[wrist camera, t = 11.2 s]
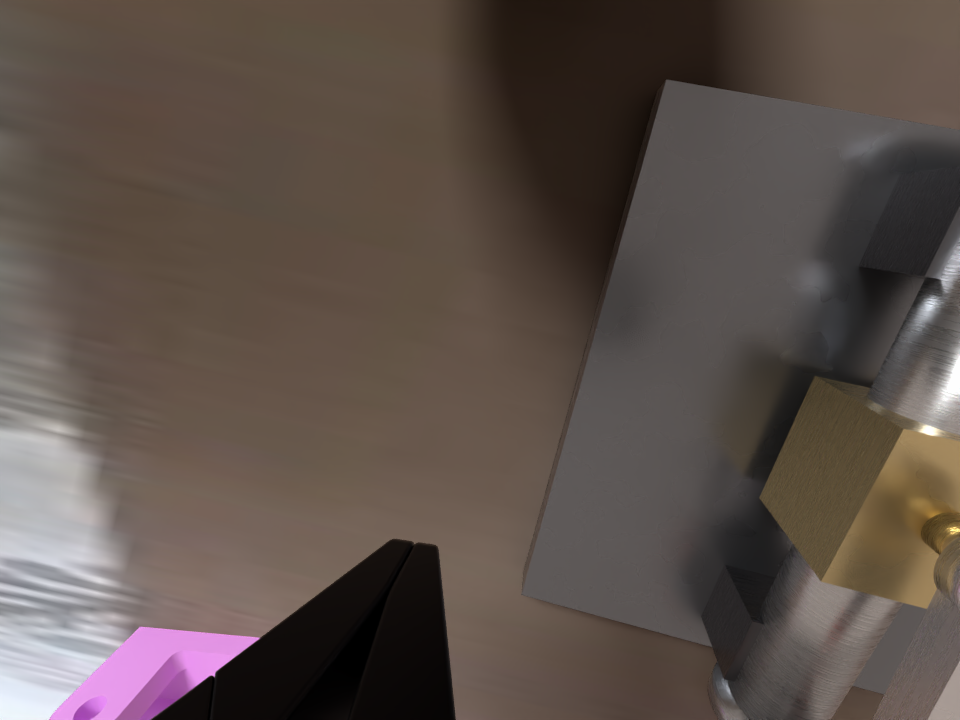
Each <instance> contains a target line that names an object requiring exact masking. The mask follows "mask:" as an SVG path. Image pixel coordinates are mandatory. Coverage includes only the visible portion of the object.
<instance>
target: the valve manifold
mask: <svg viewBox="0 0 960 720" xmlns="http://www.w3.org/2000/svg"><path fill="white" fill-rule="evenodd" d="M959 537H960V130H957V129H951V128H945V127H939V126H933V125H928V124H922V123H916V122H910V121H904V120H899V119H893V118H887V117H881V116H875V115H870V114H864V113H858V112H852V111H846V110H841V109H835V108H829V107H823V106H817V105H812V104H806V103H800V102H794V101H788V100H783V99H777V98H771V97H765V96H759V95H754V94H748V93H742V92H736V91H730V90H725V89H719V88H713V87H707V86H701V85H696V84H690V83H684V82H678V81H672V80H667V79H666V80H665V82H664V83H663V84H662V85H661V87H660V88H659V89H658V90H657V92H656V96H655V99H654V103H653V106H652V110H651V114H650V117H649V121H648V124H647V128H646V132H645V135H644V139H643V142H642V146H641V150H640V153H639V157H638V161H637V164H636V168H635V171H634V175H633V179H632V182H631V186H630V189H629V193H628V197H627V200H626V204H625V207H624V211H623V215H622V218H621V222H620V225H619V229H618V233H617V236H616V240H615V243H614V247H613V251H612V254H611V258H610V261H609V265H608V269H607V272H606V276H605V279H604V283H603V287H602V290H601V294H600V298H599V301H598V305H597V308H596V312H595V316H594V319H593V323H592V326H591V330H590V334H589V337H588V341H587V344H586V348H585V352H584V355H583V359H582V362H581V366H580V370H579V373H578V377H577V380H576V384H575V388H574V391H573V395H572V398H571V402H570V406H569V409H568V413H567V416H566V420H565V424H564V427H563V431H562V435H561V438H560V442H559V445H558V449H557V453H556V456H555V460H554V463H553V467H552V471H551V474H550V478H549V481H548V485H547V489H546V492H545V496H544V499H543V503H542V507H541V510H540V514H539V517H538V521H537V525H536V528H535V532H534V535H533V539H532V543H531V546H530V550H529V553H528V557H527V561H526V564H525V568H524V572H523V582H522V594H521V595H524V596H528V597H531V598H535V599H539V600H542V601H546V602H550V603H553V604H557V605H561V606H564V607H568V608H571V609H575V610H579V611H582V612H586V613H590V614H593V615H597V616H601V617H604V618H608V619H611V620H615V621H619V622H622V623H626V624H630V625H633V626H637V627H641V628H644V629H648V630H651V631H655V632H659V633H662V634H666V635H670V636H673V637H677V638H681V639H684V640H688V641H691V642H695V643H699V644H702V645H706V646H710V647H712V648H713V650H714V653H715V656H716V658H717V663H716V665H715V667H714V669H713V671H712V673H711V675H710V678H709V681H708V695H709V699H710V702H711V705H712V708H713V710H714V712H715V714H716V716H717V717H718V719H719V720H831V719H832V717H833V716H834V714H835V712H836V711H837V709H838V708H839V706H840V704H841V703H842V701H843V700H844V698H845V696H846V695H847V693H848V692H849V690H850V688H851V687H852V686H855V687H859V688H862V689H866V690H870V691H873V692H877V693H881V694H885V692H886V690H887V688H888V686H889V684H890V682H891V680H892V678H893V676H894V674H895V672H896V670H897V668H898V666H899V664H900V662H901V660H902V658H903V656H904V654H905V652H906V650H907V648H908V646H909V644H910V642H911V640H912V638H913V636H914V634H915V632H916V630H917V628H918V626H919V624H920V622H921V620H922V618H923V616H924V614H925V612H926V610H927V608H928V606H929V604H930V602H931V600H932V598H933V596H934V594H935V592H936V590H937V588H936V585H935V583H934V577H933V574H934V567H935V564H936V561H937V559H938V557H939V556H940V554H941V553H942V551H943V550H944V549H945V548H946V547H947V546H948V545H949V544H950V543H952V542H953V541H954V540H956V539H957V538H959Z"/></svg>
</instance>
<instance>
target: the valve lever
mask: <svg viewBox="0 0 960 720" xmlns="http://www.w3.org/2000/svg"><path fill="white" fill-rule="evenodd" d="M933 577H934V583H935V585H936V588H937V590H936V592H935V594H934V596H933V598H932V600H931V602H930V604H929V606H928V608H927V610H926V612H925V614H924V616H923V618H922V620H921V622H920V624H919V626H918V628H917V630H916V632H915V634H914V636H913V638H912V640H911V642H910V644H909V646H908V648H907V650H906V652H905V654H904V656H903V658H902V660H901V662H900V664H899V666H898V668H897V670H896V672H895V674H894V676H893V678H892V680H891V682H890V684H889V686H888V688H887V690H886V692H885V694H884V696H883V698H882V700H881V702H880V704H879V706H878V708H877V710H876V712H875V714H874V716H873V718H872V720H960V537H959V538H957V539H956V540H954V541H953V542H952V543H950V544H949V545H948V546H947V547H946V548H945V549H944V550H943V551H942V553H941V554H940V556H939V557H938V559H937V561H936V564H935V567H934V574H933Z"/></svg>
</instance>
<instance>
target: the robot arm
mask: <svg viewBox="0 0 960 720" xmlns="http://www.w3.org/2000/svg"><path fill="white" fill-rule="evenodd" d="M150 720H456V717H455V707H454V698H453V688H452V678H451V668H450V658H449V648H448V638H447V629H446V619H445V609H444V599H443V589H442V579H441V569H440V559H439V550H438V547H437V546H436V545H433V544H426V543H416V544H414V543H413V542H412V541H407V540H400V539H392V540H390V541H388V542H387V543H386V544H384V545H383V546H382V547H380V548H379V549H378V550H376V551H375V552H374V553H372V554H371V555H370V556H368V557H367V558H366V559H364V560H363V561H362V562H360V563H359V564H358V565H356V566H355V567H354V568H352V569H351V570H350V571H348V572H347V573H346V574H344V575H343V576H342V577H340V578H339V579H338V580H337V581H335V582H334V583H333V584H331V585H330V586H329V587H327V588H326V589H325V590H323V591H322V592H321V593H319V594H318V595H317V596H315V597H314V598H313V599H311V600H310V601H309V602H307V603H306V604H305V605H303V606H302V607H301V608H299V609H298V610H297V611H295V612H294V613H293V614H291V615H290V616H289V617H287V618H286V619H285V620H283V621H282V622H281V623H279V624H278V625H277V626H275V627H274V628H273V629H271V630H270V631H269V632H267V633H266V634H265V635H263V636H262V637H261V638H259V639H258V640H257V641H256V642H254V643H253V644H252V645H250V646H249V647H248V648H246V649H245V650H244V651H242V652H241V653H240V654H238V655H237V656H236V657H234V658H233V659H232V660H230V661H229V662H228V663H226V664H225V665H224V666H222V667H221V668H220V669H218V670H217V671H216V672H215V677H214V676H212V675H211V676H209V677H207V678H206V679H205V680H203V681H202V682H201V683H199V684H198V685H197V686H195V687H194V688H193V689H191V690H190V691H189V692H187V693H186V694H185V695H183V696H182V697H181V698H179V699H178V700H177V701H175V702H174V703H172V704H171V705H170V706H168V707H167V708H165V709H164V710H163V711H161V712H160V713H159V714H157V715H156V716H154V717H153V718H152V719H150Z"/></svg>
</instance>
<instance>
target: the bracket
mask: <svg viewBox="0 0 960 720" xmlns="http://www.w3.org/2000/svg"><path fill="white" fill-rule="evenodd" d="M258 639H259V638H256V637H245V636H234V635H224V634H213V633H202V632H191V631H180V630H170V629H159V628H148V627H139V628H138V629H137V630H136V631H135V632H134V633H133V634H132V635H131V636H130V637H129V638H128V639H127V640H126V641H125V642H124V643H123V644H122V645H121V646H120V647H119V648H118V649H117V650H116V651H115V652H114V653H113V654H112V655H111V656H110V657H109V658H108V659H107V660H106V661H105V662H104V663H103V664H102V665H101V666H100V667H99V668H98V669H97V670H96V671H95V672H94V673H93V674H92V675H91V676H90V677H89V678H88V679H87V680H86V681H85V682H84V683H83V684H82V685H81V686H80V687H79V688H78V689H77V690H76V691H75V692H74V693H73V694H72V695H71V696H70V697H69V698H68V699H67V700H66V701H65V702H64V703H63V704H62V705H61V706H60V707H59V708H58V709H57V710H56V711H55V712H54V713H53V715H52V716H51V717H50V719H49V720H150V719H152V718H153V717H154V716H156V715H157V714H159V713H160V712H161V711H163V710H164V709H165V708H167V707H168V706H170V705H171V704H172V703H174V702H175V701H177V700H178V699H179V698H181V697H182V696H183V695H185V694H186V693H187V692H189V691H190V690H191V689H193V688H194V687H195V686H197V685H198V684H199V683H201V682H202V681H203V680H205V679H206V678H207V677H209V676H211V675H212V676H214V677H215V672H216V671H217V670H218V669H220V668H221V667H222V666H224V665H225V664H226V663H228V662H229V661H230V660H232V659H233V658H234V657H236V656H237V655H238V654H240V653H241V652H242V651H244V650H245V649H246V648H248V647H249V646H250V645H252V644H253V643H254V642H256V641H257V640H258Z"/></svg>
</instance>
